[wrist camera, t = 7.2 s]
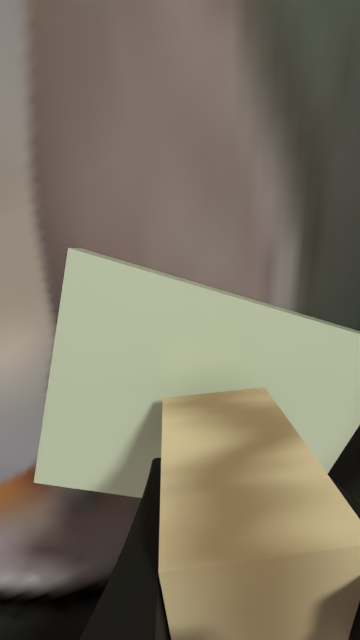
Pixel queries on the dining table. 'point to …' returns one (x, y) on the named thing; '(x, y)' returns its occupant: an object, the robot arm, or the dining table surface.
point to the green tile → (178, 369)
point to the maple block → (251, 526)
